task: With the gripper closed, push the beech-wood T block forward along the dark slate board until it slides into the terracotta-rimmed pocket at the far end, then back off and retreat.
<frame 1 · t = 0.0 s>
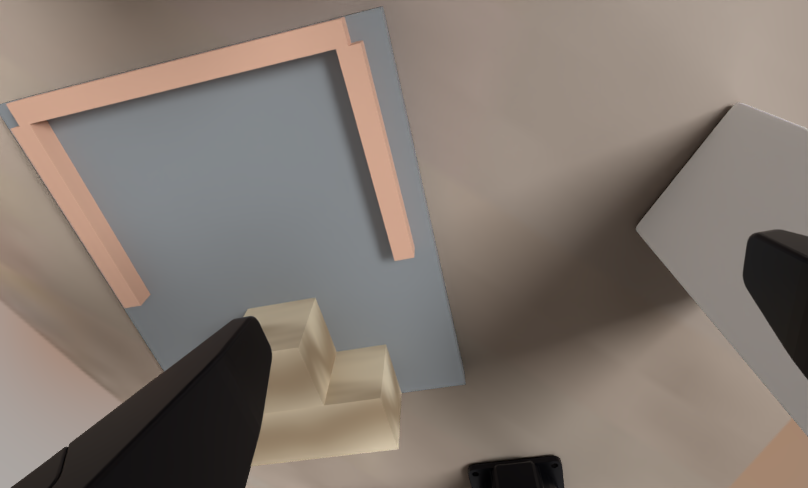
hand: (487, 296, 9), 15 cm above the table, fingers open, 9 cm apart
milk carton: (735, 195, 23), on the table
t block: (314, 380, 29), point 1 cm above the table, touching board
board: (270, 256, 26), on the table
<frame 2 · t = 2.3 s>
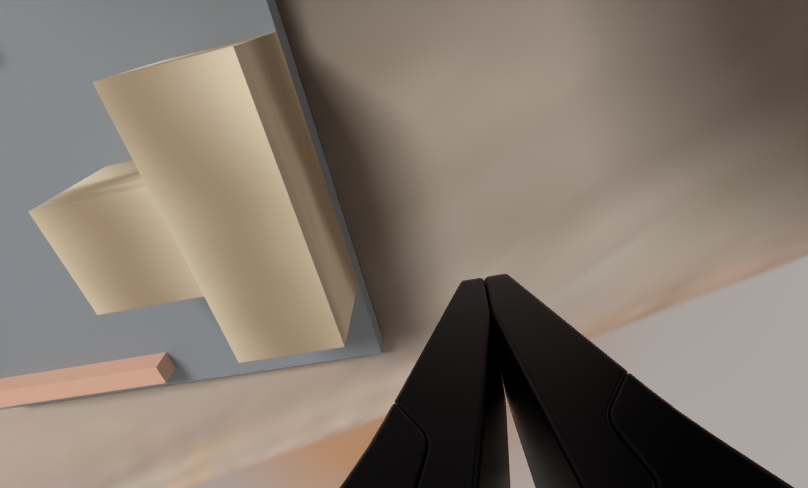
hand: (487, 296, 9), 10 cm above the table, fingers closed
t block: (272, 184, 18), point 1 cm above the table, touching board
board: (91, 214, 20), on the table
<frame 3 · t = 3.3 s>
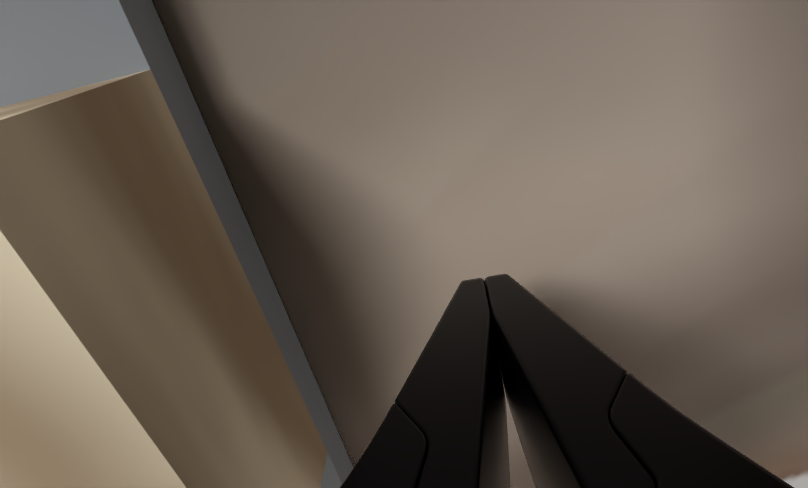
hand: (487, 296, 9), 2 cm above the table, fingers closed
t block: (176, 318, 11), point 1 cm above the table, touching board
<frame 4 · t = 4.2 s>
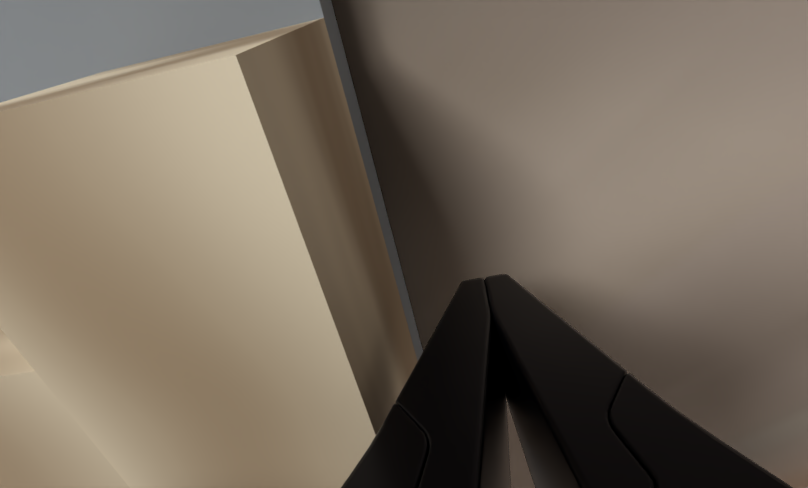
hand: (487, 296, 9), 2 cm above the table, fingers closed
t block: (303, 290, 10), point 1 cm above the table, touching board, gripper
board: (1, 318, 12), on the table
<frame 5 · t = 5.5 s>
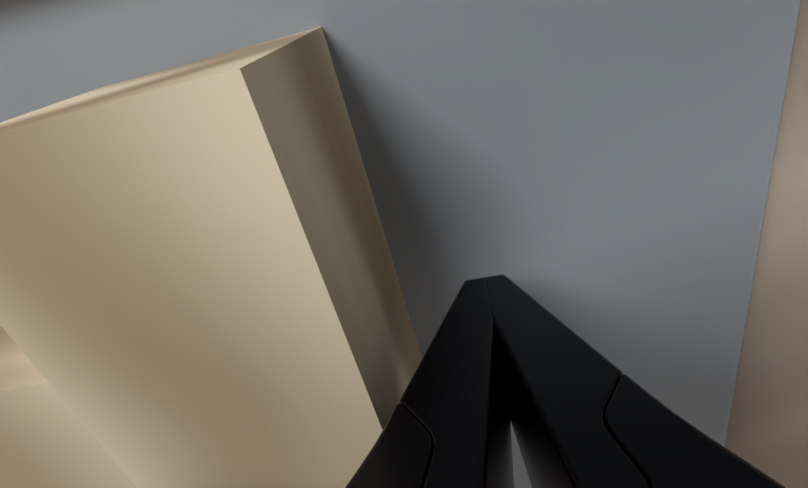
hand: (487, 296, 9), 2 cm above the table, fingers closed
t block: (308, 295, 10), point 1 cm above the table, touching board, gripper
board: (262, 274, 11), on the table
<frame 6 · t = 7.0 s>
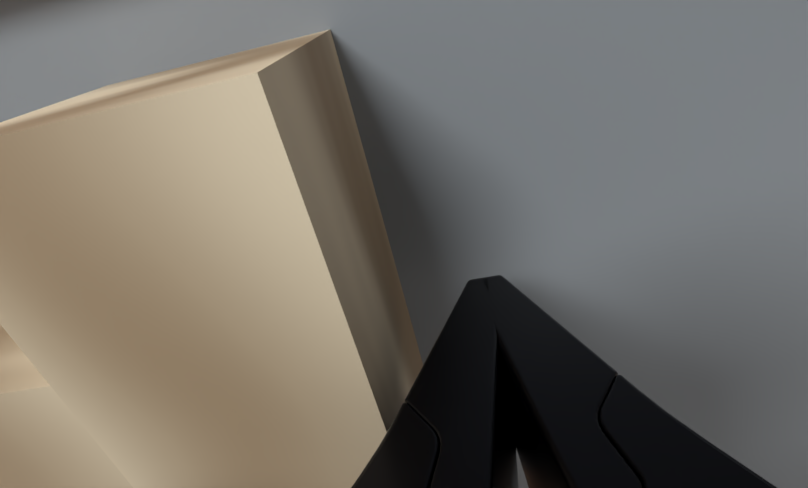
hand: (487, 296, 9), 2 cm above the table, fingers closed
t block: (310, 298, 10), point 1 cm above the table, touching board, gripper
board: (442, 247, 11), on the table
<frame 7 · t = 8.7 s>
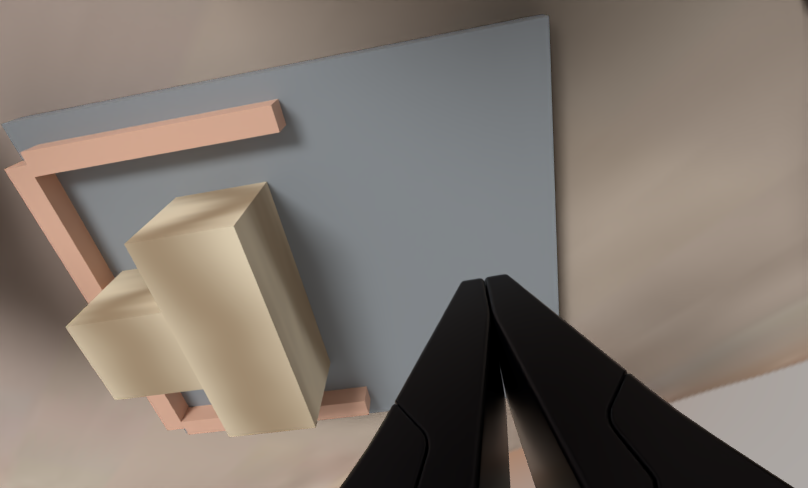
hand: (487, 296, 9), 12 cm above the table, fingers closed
t block: (260, 288, 22), point 1 cm above the table, touching board
board: (325, 265, 22), on the table
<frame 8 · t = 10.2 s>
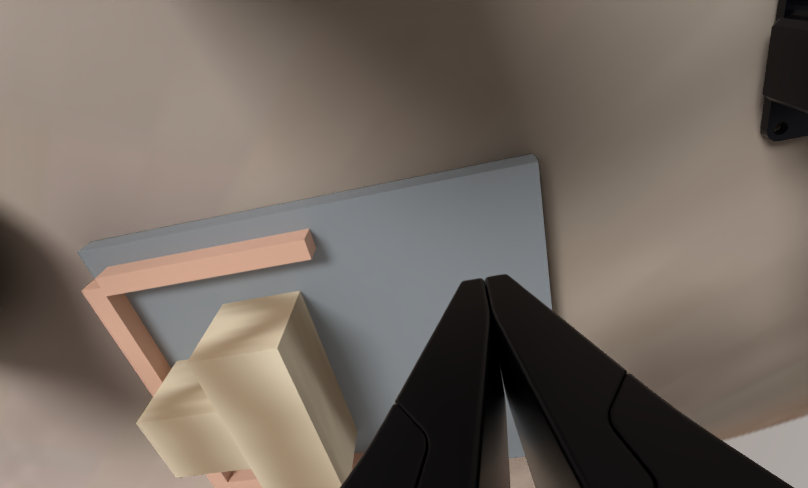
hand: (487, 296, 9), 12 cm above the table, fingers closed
t block: (295, 372, 25), point 1 cm above the table, touching board
board: (351, 350, 25), on the table
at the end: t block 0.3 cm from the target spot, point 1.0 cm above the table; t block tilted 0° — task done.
